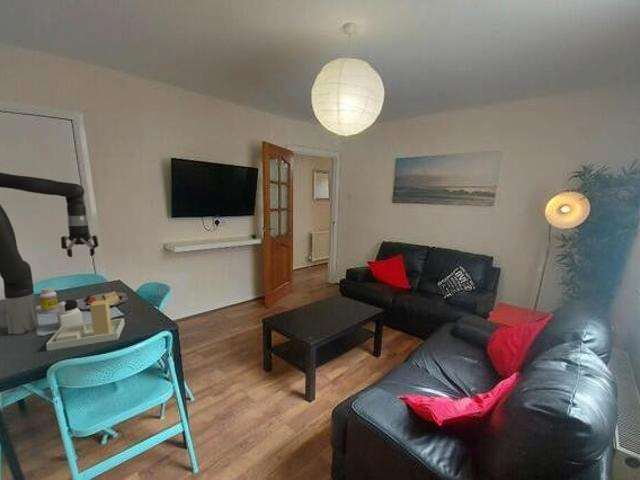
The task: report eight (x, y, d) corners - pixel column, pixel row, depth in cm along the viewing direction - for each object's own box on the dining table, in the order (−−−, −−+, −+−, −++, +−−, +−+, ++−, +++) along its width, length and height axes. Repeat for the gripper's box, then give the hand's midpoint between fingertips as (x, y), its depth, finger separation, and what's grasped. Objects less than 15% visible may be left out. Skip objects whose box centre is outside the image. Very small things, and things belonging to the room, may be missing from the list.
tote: (47, 353, 118) (46, 343, 117) (62, 334, 132) (61, 326, 131) (118, 341, 128) (117, 333, 127) (124, 325, 142) (123, 318, 141)
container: (79, 321, 145) (76, 297, 142) (83, 326, 140) (80, 301, 138) (58, 327, 139) (55, 301, 137) (62, 332, 134) (58, 306, 132)
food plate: (77, 300, 171) (76, 294, 170) (124, 292, 186) (124, 287, 185) (78, 316, 152) (77, 309, 152) (130, 305, 167) (130, 300, 167)
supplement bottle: (48, 314, 152) (45, 291, 150) (38, 312, 153) (34, 289, 151) (61, 309, 158) (58, 286, 156) (52, 308, 160) (49, 285, 158)
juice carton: (93, 337, 128) (90, 305, 126) (97, 332, 133) (93, 301, 131) (108, 335, 130) (105, 304, 128) (111, 330, 135) (108, 299, 133)
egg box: (56, 347, 120) (55, 338, 120) (67, 333, 131) (66, 325, 130) (78, 343, 123) (76, 335, 122) (86, 331, 134) (85, 323, 133)
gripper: (56, 225, 137) (60, 258, 140) (93, 225, 143) (96, 256, 146) (62, 223, 144) (66, 255, 147) (97, 223, 150) (100, 253, 153)
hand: (81, 256), depth 146 cm, fingers open, 8 cm apart
